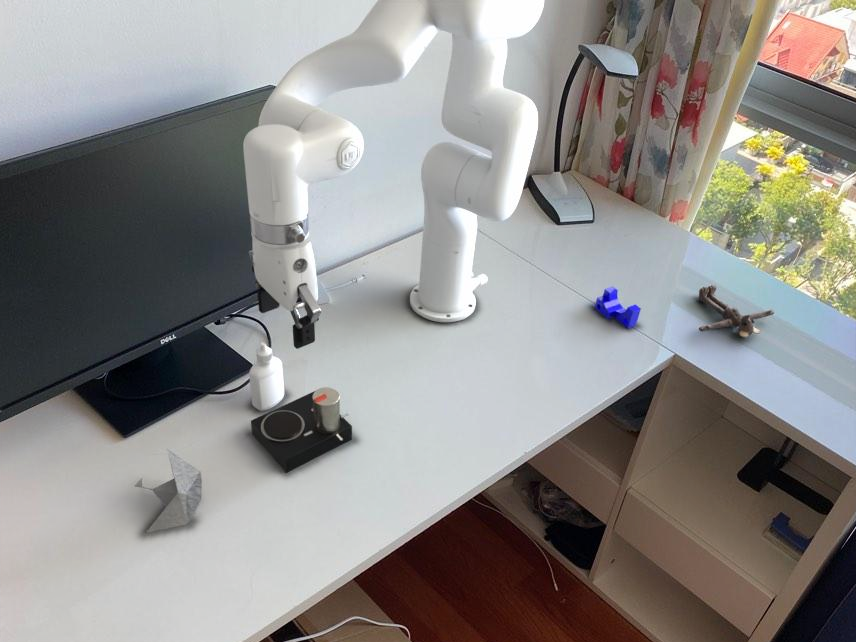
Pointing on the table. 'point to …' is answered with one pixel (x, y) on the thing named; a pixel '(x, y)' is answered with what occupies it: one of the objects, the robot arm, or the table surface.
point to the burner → (282, 426)
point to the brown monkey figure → (730, 314)
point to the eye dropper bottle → (266, 379)
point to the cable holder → (616, 308)
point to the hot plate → (302, 436)
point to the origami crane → (177, 495)
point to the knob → (326, 410)
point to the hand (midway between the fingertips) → (286, 326)
